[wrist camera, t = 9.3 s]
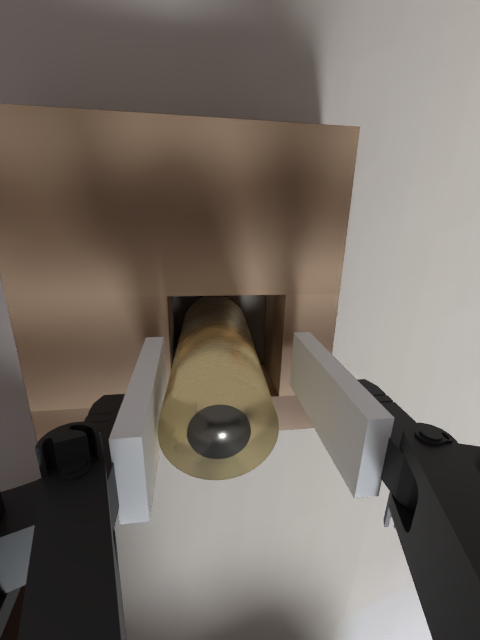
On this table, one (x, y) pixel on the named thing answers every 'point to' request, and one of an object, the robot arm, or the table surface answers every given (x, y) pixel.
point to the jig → (162, 240)
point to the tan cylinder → (216, 396)
